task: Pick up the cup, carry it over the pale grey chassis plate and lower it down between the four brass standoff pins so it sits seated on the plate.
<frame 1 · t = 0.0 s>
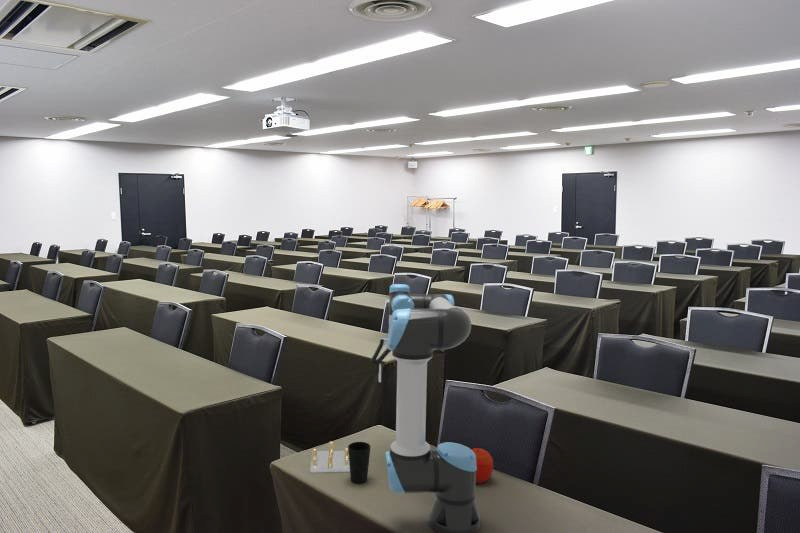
hand: (397, 381, 212), 28 cm above the table, fingers open, 13 cm apart
apple: (477, 480, 194), on the table
chassis: (330, 463, 205), on the table
cup: (358, 480, 193), on the table
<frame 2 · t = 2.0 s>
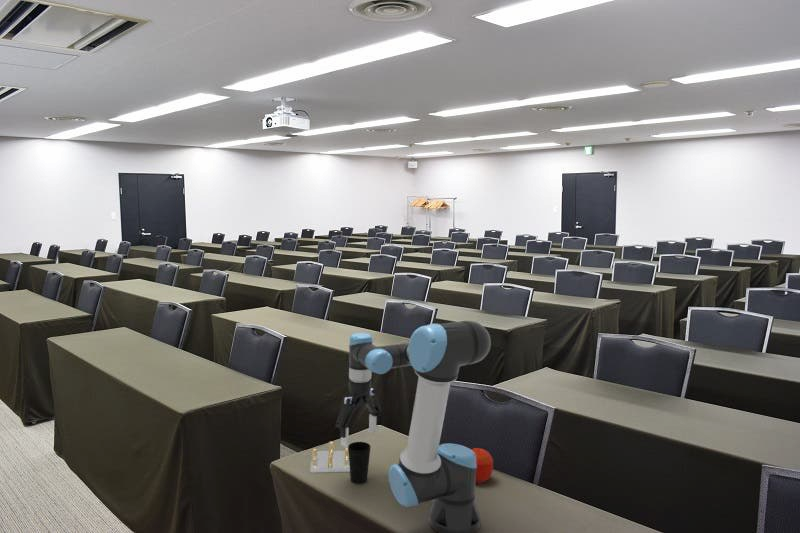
hand: (358, 439, 191), 14 cm above the table, fingers open, 13 cm apart
nothing on the table moved.
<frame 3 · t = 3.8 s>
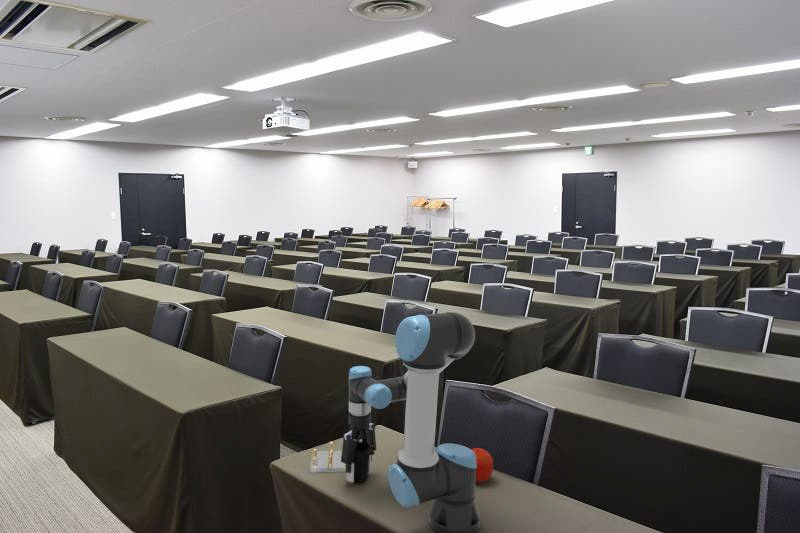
hand: (358, 476, 193), 1 cm above the table, fingers closed on cup, 8 cm apart
cup: (358, 480, 193), on the table, touching gripper
everything else where it was.
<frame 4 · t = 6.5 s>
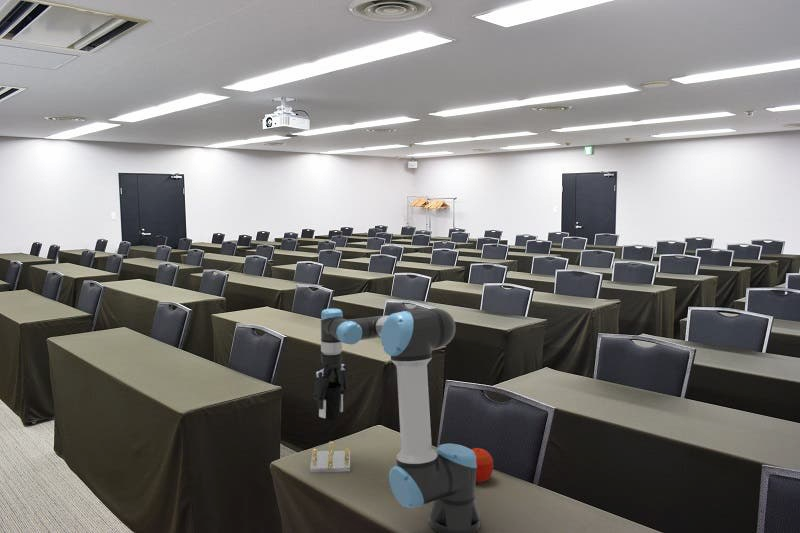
hand: (331, 414, 203), 19 cm above the table, fingers closed on cup, 8 cm apart
cup: (331, 417, 203), point 17 cm above the table, touching gripper
everything else where it was.
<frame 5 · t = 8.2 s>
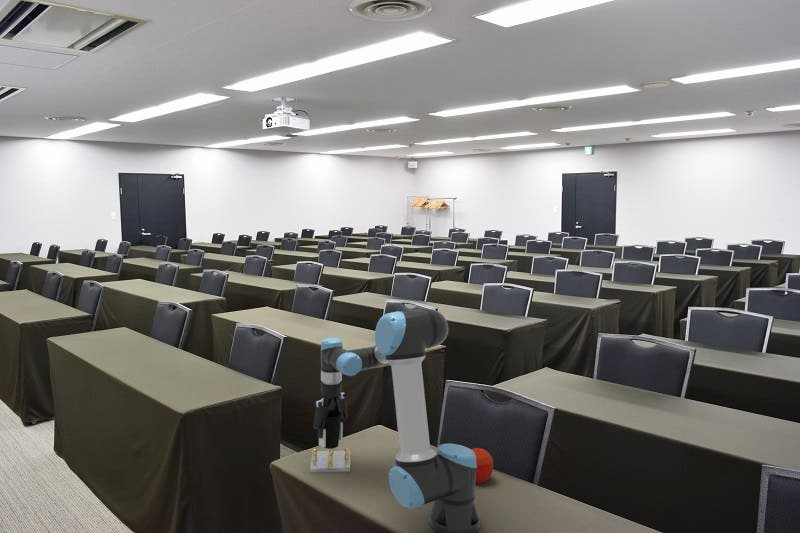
hand: (330, 442, 204), 8 cm above the table, fingers closed on cup, 8 cm apart
cup: (330, 445, 204), point 7 cm above the table, touching gripper
everything else where it was.
when the fingers open (4 cm above the table, at t = 9.5 s): cup stays where it is, resting on chassis.
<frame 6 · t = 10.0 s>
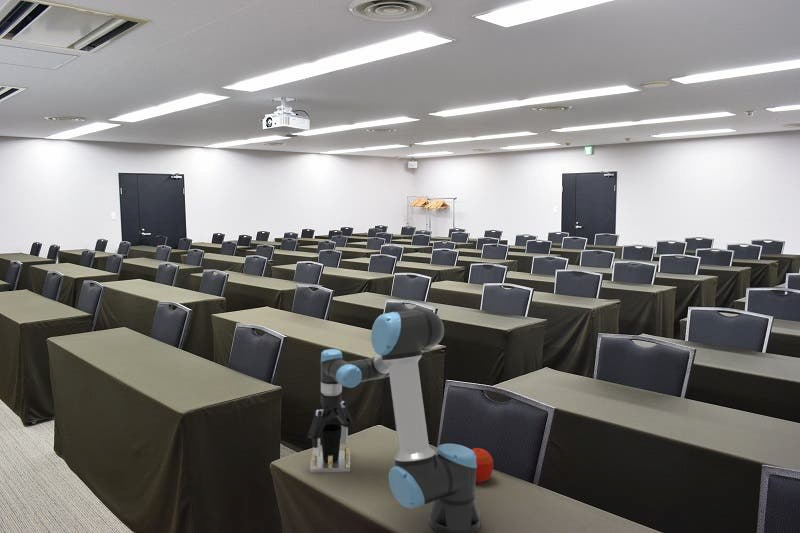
hand: (330, 449, 204), 5 cm above the table, fingers open, 13 cm apart
cup: (330, 459, 204), point 1 cm above the table, touching chassis
everything else where it was.
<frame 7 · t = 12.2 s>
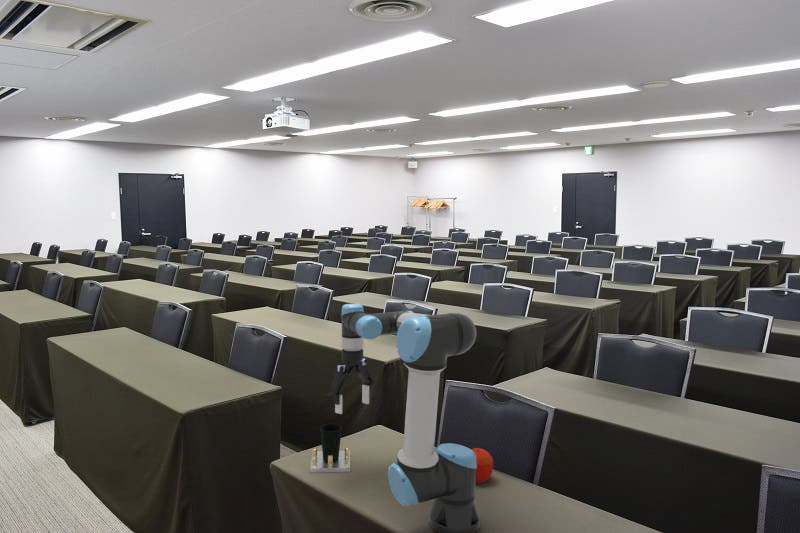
hand: (352, 408, 197), 23 cm above the table, fingers open, 13 cm apart
nothing on the table moved.
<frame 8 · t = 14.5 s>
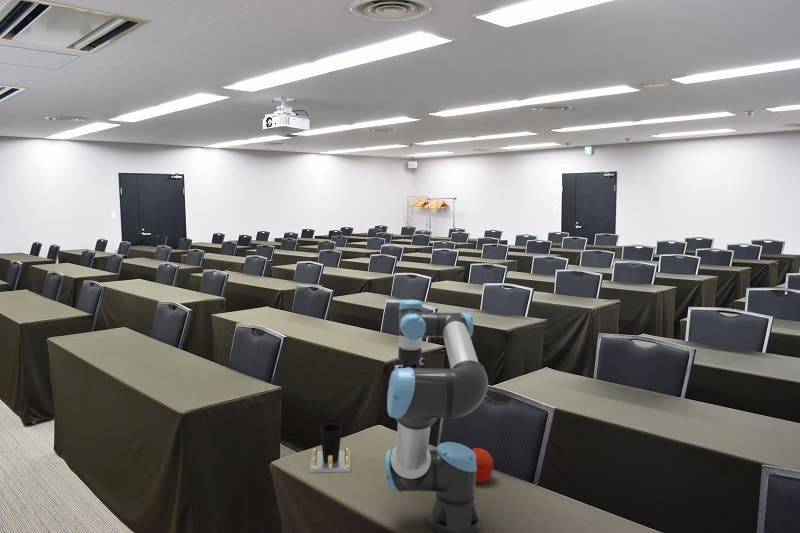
hand: (408, 410, 185), 27 cm above the table, fingers open, 13 cm apart
nothing on the table moved.
at the end: cup 0.0 cm from the chassis (horizontally); cup point 1.3 cm above the table; cup tilted 0° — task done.
